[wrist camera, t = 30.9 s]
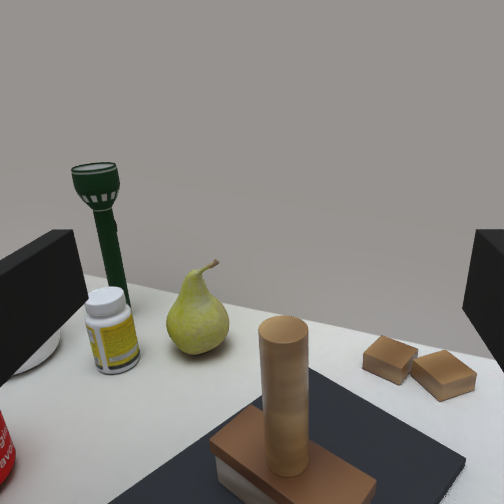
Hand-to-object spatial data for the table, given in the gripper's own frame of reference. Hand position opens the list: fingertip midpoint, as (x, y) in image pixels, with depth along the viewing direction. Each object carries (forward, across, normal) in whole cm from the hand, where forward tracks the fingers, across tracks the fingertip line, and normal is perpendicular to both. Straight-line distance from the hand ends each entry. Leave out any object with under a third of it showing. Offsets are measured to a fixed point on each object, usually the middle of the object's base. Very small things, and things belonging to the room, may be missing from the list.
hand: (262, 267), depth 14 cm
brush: (+7, 0, -21) cm, 23 cm away
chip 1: (+23, +10, -22) cm, 34 cm away
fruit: (+25, -10, -23) cm, 36 cm away
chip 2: (+21, +14, -22) cm, 34 cm away
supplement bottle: (+22, -20, -23) cm, 37 cm away
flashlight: (+32, -23, -23) cm, 46 cm away
